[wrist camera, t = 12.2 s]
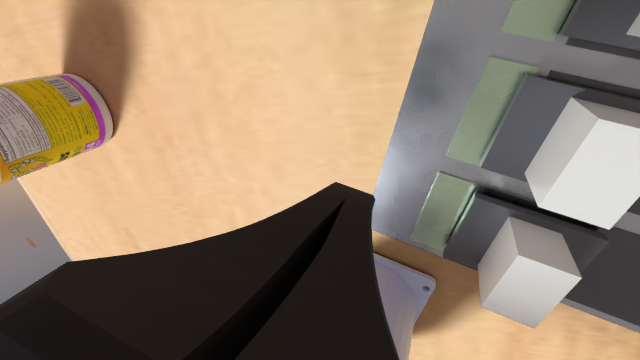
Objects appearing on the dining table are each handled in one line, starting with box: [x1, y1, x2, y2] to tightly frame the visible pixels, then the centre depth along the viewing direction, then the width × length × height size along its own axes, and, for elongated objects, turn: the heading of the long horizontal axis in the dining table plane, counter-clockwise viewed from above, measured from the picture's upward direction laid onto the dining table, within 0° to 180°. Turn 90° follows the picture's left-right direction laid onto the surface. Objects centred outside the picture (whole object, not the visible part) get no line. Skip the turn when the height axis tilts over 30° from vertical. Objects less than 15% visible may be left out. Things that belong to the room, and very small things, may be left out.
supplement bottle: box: [0, 74, 113, 184], centre depth 23 cm, size 7×7×13 cm
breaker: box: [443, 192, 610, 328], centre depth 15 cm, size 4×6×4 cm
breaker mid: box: [480, 73, 640, 230], centre depth 12 cm, size 4×6×4 cm
